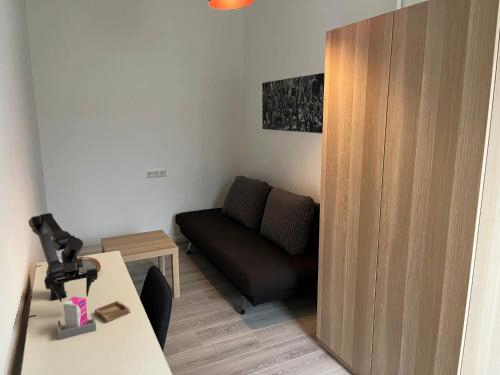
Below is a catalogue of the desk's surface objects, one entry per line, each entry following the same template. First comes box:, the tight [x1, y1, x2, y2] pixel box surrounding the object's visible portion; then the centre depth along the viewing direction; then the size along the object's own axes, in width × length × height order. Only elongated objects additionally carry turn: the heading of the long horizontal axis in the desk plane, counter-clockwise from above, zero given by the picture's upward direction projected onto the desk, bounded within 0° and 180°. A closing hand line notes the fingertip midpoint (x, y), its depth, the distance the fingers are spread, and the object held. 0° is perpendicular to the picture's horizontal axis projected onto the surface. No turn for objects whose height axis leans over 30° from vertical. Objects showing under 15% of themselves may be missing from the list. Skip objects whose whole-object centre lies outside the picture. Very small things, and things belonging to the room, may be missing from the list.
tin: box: [77, 255, 102, 274], centre depth 193 cm, size 15×3×8 cm, turn 71°
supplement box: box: [63, 296, 89, 330], centre depth 141 cm, size 6×6×12 cm
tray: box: [94, 300, 131, 324], centre depth 152 cm, size 10×10×2 cm
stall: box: [57, 312, 97, 340], centre depth 141 cm, size 9×13×3 cm
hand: (74, 298), depth 143 cm, fingers open, 9 cm apart
